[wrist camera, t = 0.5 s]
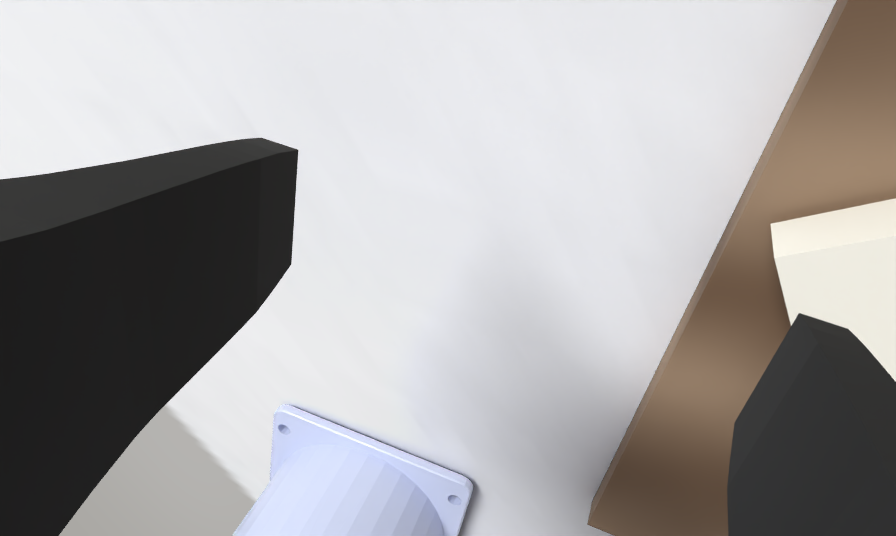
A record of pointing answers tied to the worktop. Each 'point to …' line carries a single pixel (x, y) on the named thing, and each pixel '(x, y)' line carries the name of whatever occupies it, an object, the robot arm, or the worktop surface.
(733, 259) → the pivot board
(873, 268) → the swing link
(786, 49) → the worktop surface
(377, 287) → the worktop surface
